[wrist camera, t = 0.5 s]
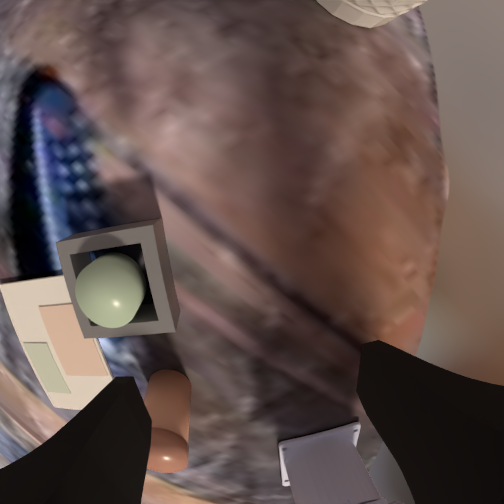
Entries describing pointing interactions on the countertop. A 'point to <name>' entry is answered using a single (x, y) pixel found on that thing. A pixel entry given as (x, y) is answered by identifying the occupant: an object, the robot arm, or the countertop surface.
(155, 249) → the button housing
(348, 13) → the white cup
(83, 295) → the button
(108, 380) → the sheet
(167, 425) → the brown round-topped peg
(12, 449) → the countertop surface
